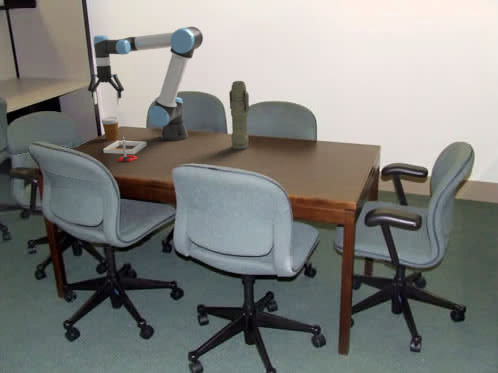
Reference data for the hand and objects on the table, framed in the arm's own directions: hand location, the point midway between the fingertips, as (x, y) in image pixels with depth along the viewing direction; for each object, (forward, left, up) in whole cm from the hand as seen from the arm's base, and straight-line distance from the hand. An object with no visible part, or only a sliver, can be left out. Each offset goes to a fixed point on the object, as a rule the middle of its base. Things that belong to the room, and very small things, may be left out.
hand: (107, 103), depth 308 cm
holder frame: (-16, +16, -21) cm, 31 cm away
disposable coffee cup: (0, -1, -21) cm, 21 cm away
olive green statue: (-76, +3, -21) cm, 79 cm away
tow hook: (-25, +33, -21) cm, 46 cm away
